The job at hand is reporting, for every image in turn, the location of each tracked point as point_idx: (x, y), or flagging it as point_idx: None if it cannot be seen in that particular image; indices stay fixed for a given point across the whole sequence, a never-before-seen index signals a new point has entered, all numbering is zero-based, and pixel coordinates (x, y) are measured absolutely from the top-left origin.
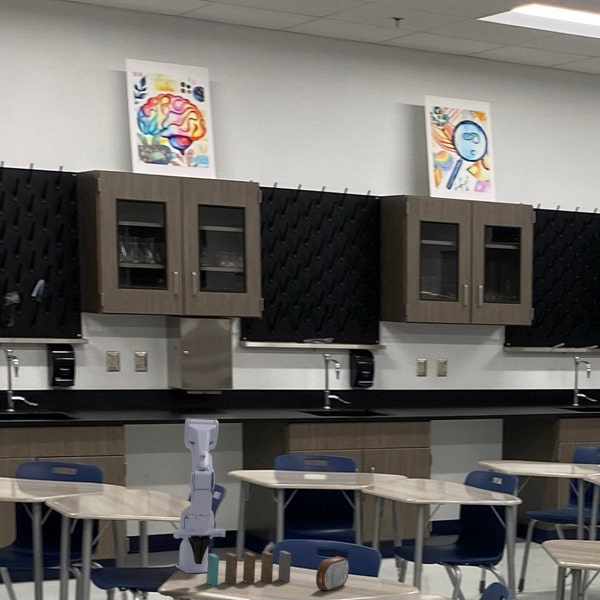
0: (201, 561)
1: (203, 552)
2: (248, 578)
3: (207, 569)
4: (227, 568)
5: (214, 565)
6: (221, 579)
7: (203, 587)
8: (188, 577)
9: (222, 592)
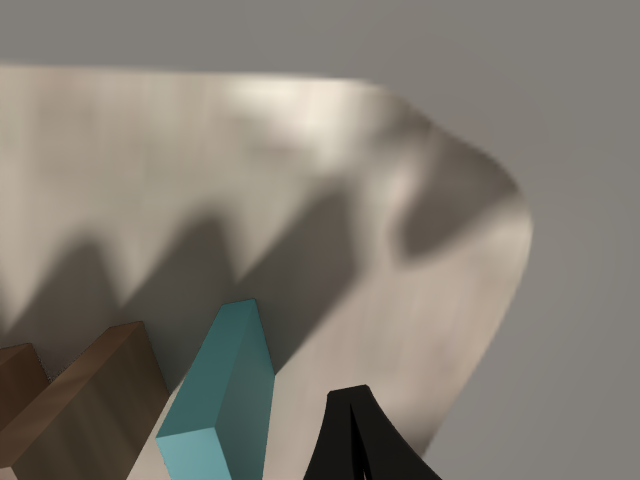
0: (333, 400)
1: (327, 464)
2: (11, 372)
3: (266, 429)
4: (122, 437)
5: (220, 374)
6: None
7: (310, 268)
8: None
9: (210, 133)
